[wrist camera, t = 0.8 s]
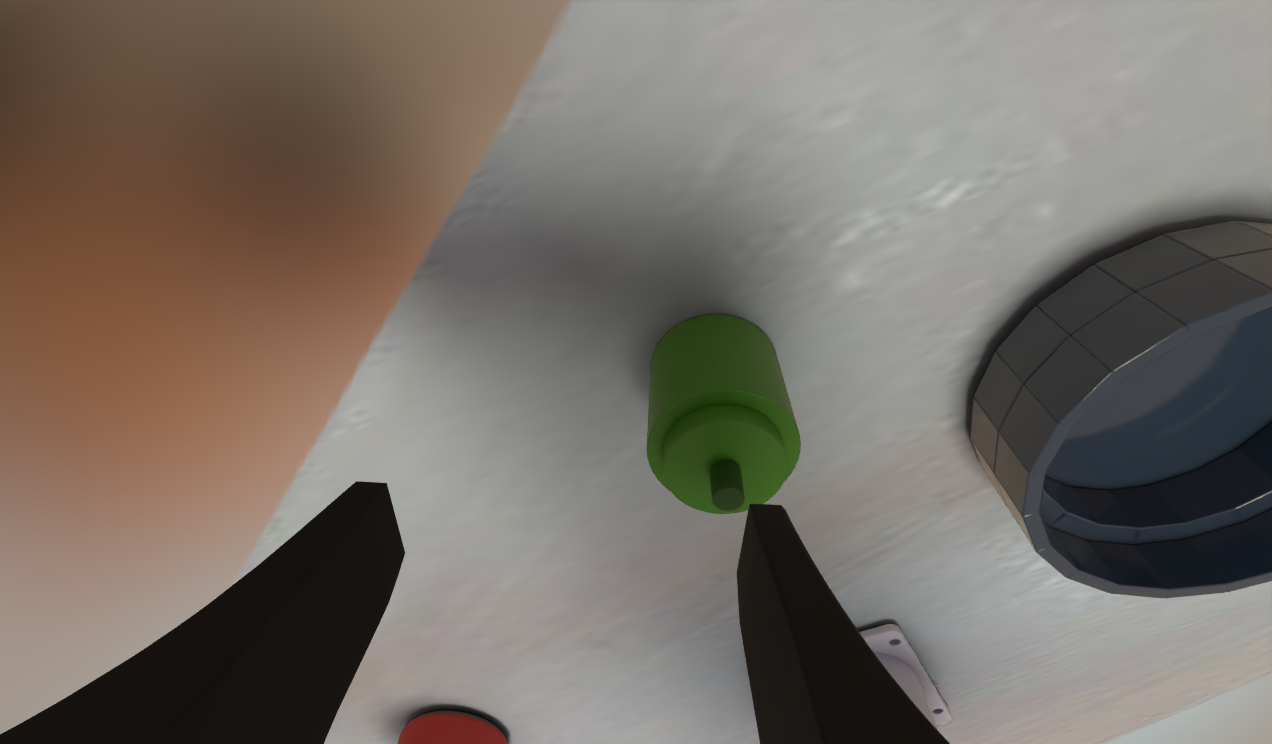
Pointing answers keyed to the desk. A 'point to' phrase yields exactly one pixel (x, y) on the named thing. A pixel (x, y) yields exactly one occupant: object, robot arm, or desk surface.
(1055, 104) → the desk surface
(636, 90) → the desk surface
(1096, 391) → the bowl
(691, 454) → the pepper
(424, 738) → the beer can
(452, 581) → the desk surface
